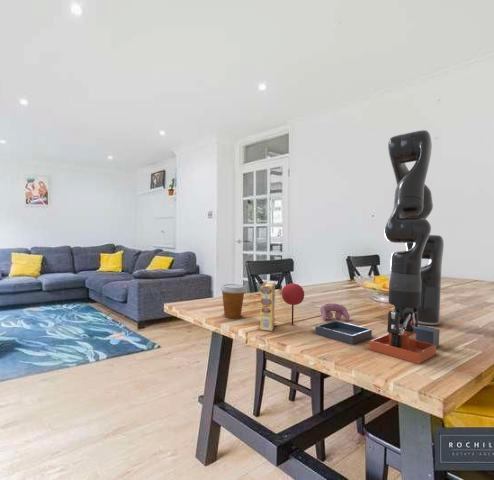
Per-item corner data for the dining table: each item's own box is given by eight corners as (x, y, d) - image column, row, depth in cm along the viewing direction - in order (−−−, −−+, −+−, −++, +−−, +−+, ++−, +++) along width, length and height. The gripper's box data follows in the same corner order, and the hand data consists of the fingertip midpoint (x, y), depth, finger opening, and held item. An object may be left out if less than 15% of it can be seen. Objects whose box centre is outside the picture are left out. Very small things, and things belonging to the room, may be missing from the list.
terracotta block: (395, 345, 97) (396, 328, 97) (415, 350, 93) (416, 333, 93) (388, 348, 94) (388, 331, 94) (408, 354, 90) (409, 336, 90)
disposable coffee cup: (218, 313, 134) (218, 283, 133) (241, 312, 135) (241, 283, 134) (223, 319, 124) (224, 288, 124) (248, 319, 125) (248, 288, 125)
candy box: (272, 331, 111) (273, 286, 110) (259, 329, 112) (260, 285, 112) (274, 324, 119) (275, 282, 118) (262, 323, 120) (263, 281, 120)
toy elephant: (346, 322, 128) (343, 305, 131) (351, 320, 124) (348, 302, 127) (320, 321, 129) (318, 304, 132) (324, 319, 125) (321, 301, 128)
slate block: (419, 340, 103) (420, 325, 103) (438, 345, 99) (439, 329, 99) (412, 343, 101) (413, 327, 100) (432, 348, 96) (433, 332, 96)
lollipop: (303, 323, 121) (304, 282, 121) (303, 329, 114) (305, 285, 113) (281, 321, 124) (282, 281, 123) (280, 326, 116) (281, 284, 116)
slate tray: (335, 327, 116) (335, 320, 116) (371, 337, 106) (372, 329, 106) (315, 333, 109) (315, 325, 109) (352, 344, 99) (352, 335, 99)
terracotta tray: (388, 341, 102) (388, 333, 102) (436, 354, 92) (436, 345, 92) (369, 349, 95) (369, 340, 95) (418, 363, 85) (419, 354, 85)
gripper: (409, 293, 86) (407, 354, 86) (430, 288, 94) (427, 344, 95) (378, 288, 92) (376, 346, 93) (400, 284, 100) (398, 337, 101)
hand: (402, 345), depth 94 cm, fingers open, 8 cm apart
